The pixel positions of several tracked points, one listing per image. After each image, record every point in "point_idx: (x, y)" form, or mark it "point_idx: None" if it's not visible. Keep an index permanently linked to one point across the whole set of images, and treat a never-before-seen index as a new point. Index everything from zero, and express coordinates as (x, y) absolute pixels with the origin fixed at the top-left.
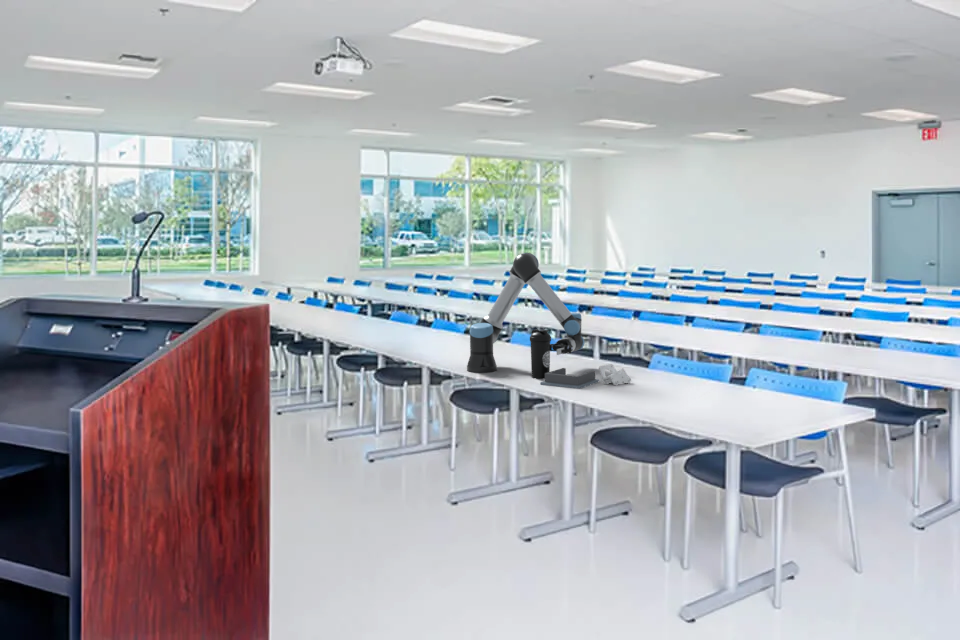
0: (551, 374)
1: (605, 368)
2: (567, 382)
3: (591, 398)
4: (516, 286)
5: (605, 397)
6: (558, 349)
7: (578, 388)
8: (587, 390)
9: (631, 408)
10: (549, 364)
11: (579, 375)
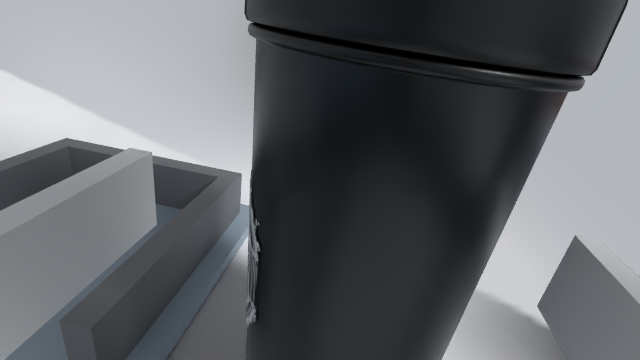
0: (204, 167)
1: None
2: None
3: (76, 116)
4: None
5: (21, 119)
6: (119, 155)
7: None
8: None
9: (7, 82)
10: (247, 307)
11: (45, 151)
